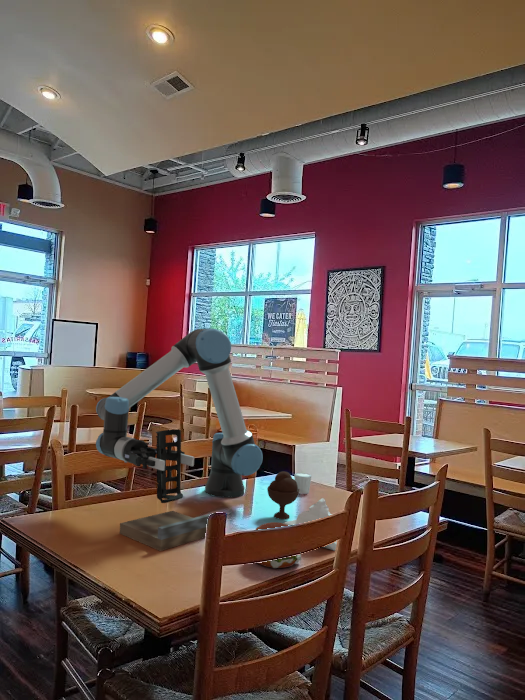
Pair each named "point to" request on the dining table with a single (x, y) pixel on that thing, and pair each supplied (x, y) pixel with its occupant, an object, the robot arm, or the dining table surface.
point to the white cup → (303, 482)
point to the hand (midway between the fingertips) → (178, 463)
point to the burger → (284, 561)
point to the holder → (162, 474)
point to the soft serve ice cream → (314, 517)
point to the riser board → (165, 529)
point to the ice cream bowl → (283, 492)
